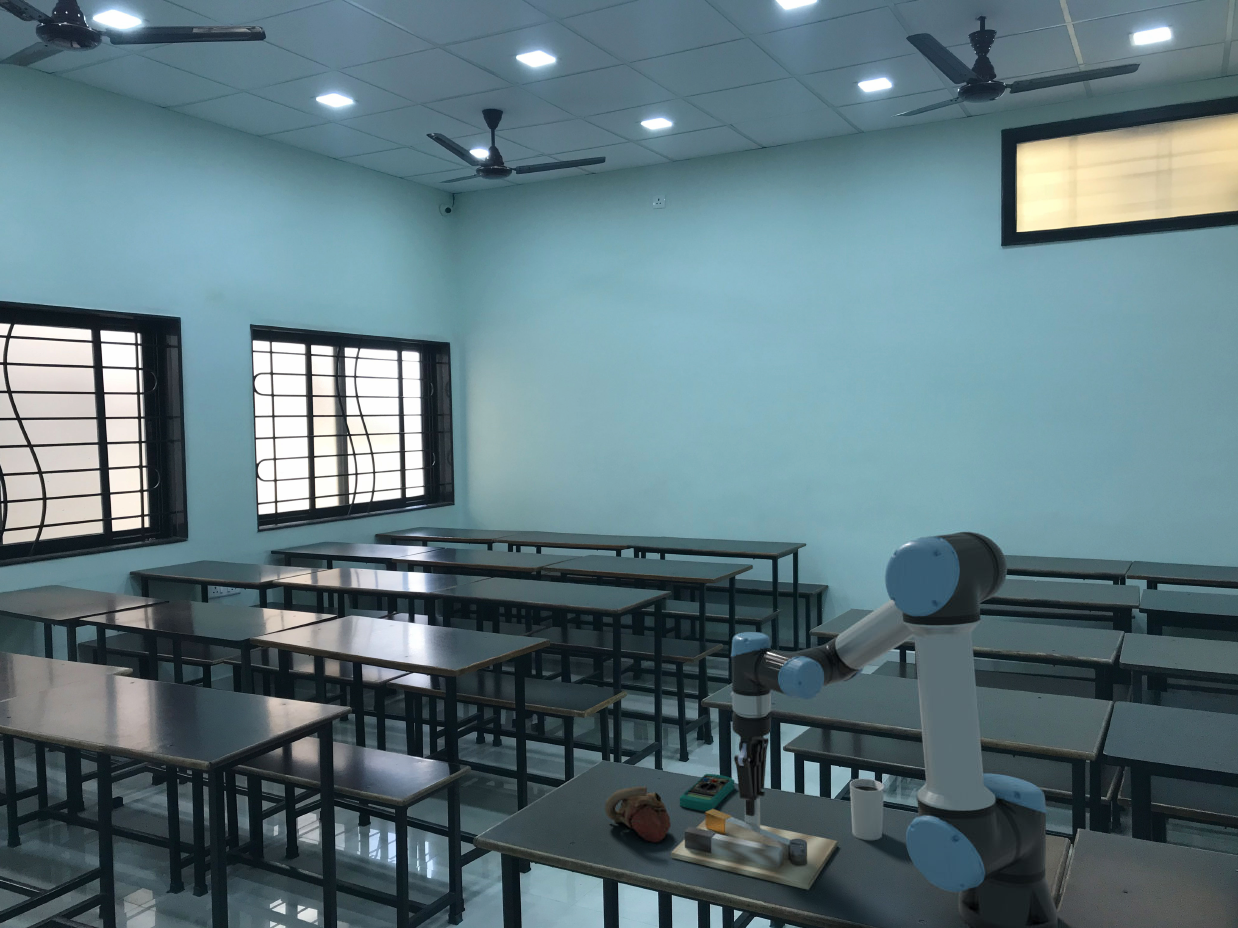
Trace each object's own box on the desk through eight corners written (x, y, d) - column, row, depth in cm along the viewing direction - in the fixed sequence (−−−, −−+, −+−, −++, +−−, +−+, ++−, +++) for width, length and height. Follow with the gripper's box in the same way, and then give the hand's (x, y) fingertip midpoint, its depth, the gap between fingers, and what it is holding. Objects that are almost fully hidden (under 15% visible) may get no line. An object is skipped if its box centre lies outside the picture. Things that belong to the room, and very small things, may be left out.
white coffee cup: (855, 841, 178) (855, 791, 177) (846, 826, 184) (845, 778, 184) (888, 840, 178) (888, 790, 178) (878, 825, 185) (877, 777, 184)
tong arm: (810, 861, 167) (810, 842, 167) (800, 867, 165) (800, 847, 165) (714, 822, 184) (714, 805, 184) (704, 827, 182) (703, 810, 182)
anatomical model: (664, 858, 180) (608, 823, 190) (688, 822, 184) (632, 789, 194) (646, 828, 172) (588, 792, 182) (671, 791, 177) (614, 758, 186)
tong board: (837, 845, 176) (836, 824, 176) (808, 889, 159) (808, 866, 159) (709, 819, 189) (709, 799, 189) (671, 857, 172) (670, 835, 172)
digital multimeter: (736, 789, 206) (736, 776, 206) (711, 814, 192) (711, 800, 192) (705, 783, 209) (705, 770, 209) (678, 808, 196) (678, 794, 196)
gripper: (745, 700, 184) (746, 812, 185) (720, 718, 173) (722, 838, 174) (780, 705, 181) (781, 819, 182) (757, 724, 169) (758, 846, 170)
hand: (752, 828), depth 178 cm, fingers closed
